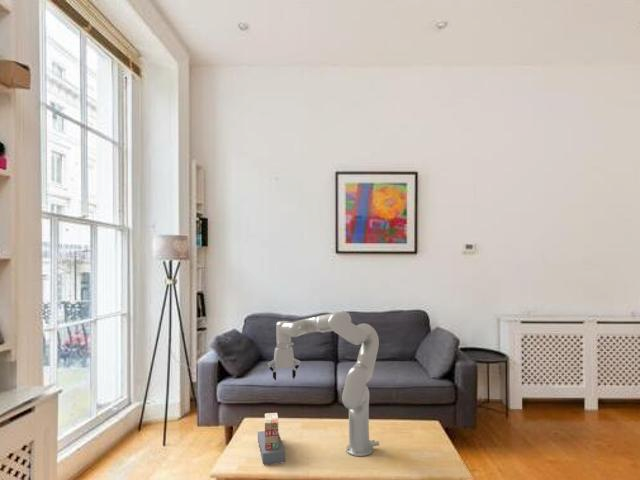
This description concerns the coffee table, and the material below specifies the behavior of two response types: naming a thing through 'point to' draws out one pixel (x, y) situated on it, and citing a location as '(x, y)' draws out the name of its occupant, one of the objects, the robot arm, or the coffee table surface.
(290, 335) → the robot arm
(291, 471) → the coffee table surface
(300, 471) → the coffee table surface
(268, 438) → the stack of blocks
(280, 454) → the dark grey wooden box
